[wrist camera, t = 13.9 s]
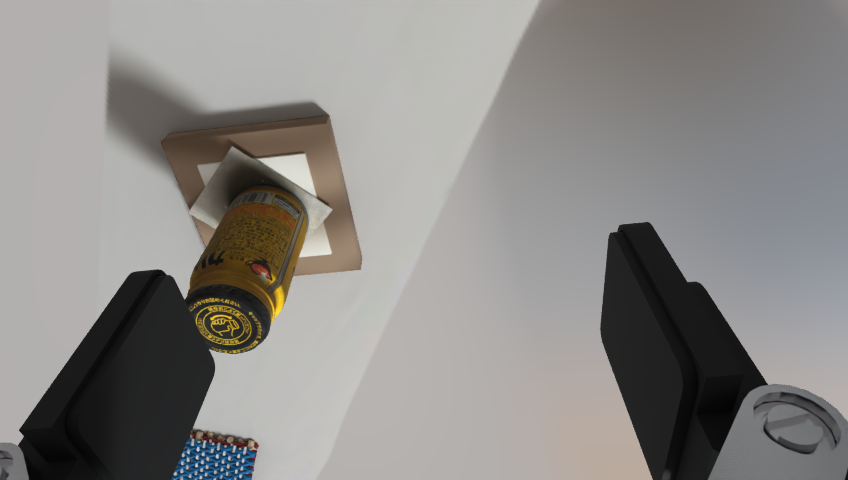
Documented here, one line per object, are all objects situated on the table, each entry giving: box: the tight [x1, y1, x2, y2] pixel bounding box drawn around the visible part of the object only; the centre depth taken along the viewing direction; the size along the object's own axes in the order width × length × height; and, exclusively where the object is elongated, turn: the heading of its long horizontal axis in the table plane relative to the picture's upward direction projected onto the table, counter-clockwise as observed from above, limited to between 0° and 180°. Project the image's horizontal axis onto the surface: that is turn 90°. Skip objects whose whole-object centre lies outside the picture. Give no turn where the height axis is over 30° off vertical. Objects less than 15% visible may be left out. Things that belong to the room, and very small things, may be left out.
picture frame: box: [161, 116, 362, 276], centre depth 43 cm, size 13×12×2 cm
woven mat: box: [172, 431, 259, 480], centre depth 63 cm, size 10×11×2 cm
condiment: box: [185, 146, 333, 354], centre depth 37 cm, size 7×8×12 cm
